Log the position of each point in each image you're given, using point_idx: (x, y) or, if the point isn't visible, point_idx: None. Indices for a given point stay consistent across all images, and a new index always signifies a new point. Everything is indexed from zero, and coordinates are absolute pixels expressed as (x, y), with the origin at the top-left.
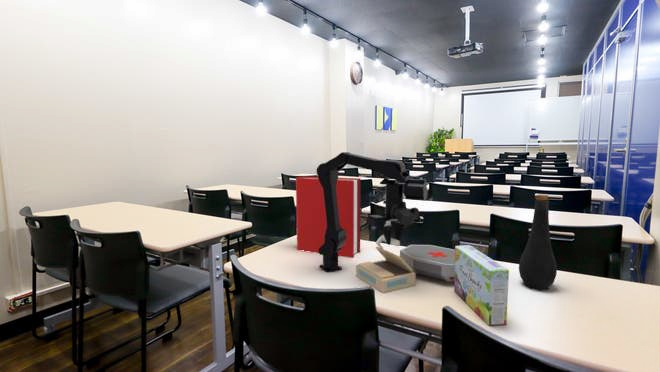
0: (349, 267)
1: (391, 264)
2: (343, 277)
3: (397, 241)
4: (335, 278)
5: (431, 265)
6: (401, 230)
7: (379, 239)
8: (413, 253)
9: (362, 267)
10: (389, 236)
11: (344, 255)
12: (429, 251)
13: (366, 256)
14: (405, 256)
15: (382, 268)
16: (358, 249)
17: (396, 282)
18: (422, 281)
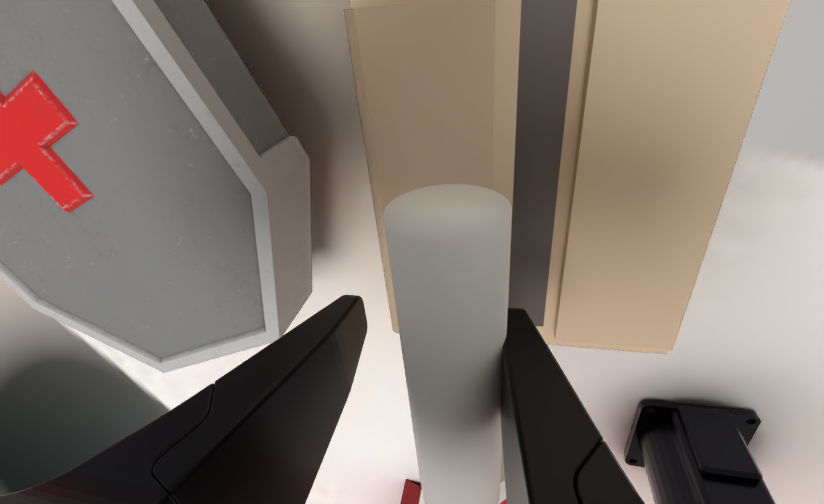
0: (579, 397)
1: None
2: (733, 319)
3: (444, 229)
4: (793, 331)
5: None
6: (174, 465)
7: None
8: (205, 247)
9: (685, 293)
10: (558, 423)
11: None
12: (68, 224)
13: (406, 441)
14: (284, 252)
15: (577, 186)
16: (411, 496)
17: None
18: (292, 22)
